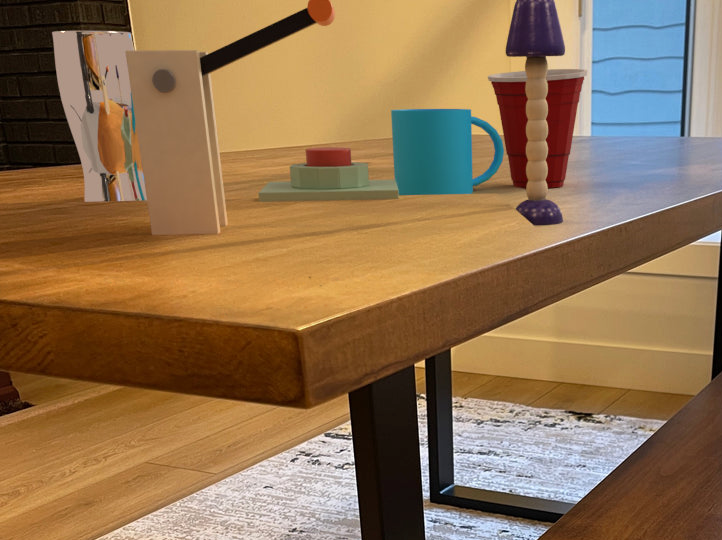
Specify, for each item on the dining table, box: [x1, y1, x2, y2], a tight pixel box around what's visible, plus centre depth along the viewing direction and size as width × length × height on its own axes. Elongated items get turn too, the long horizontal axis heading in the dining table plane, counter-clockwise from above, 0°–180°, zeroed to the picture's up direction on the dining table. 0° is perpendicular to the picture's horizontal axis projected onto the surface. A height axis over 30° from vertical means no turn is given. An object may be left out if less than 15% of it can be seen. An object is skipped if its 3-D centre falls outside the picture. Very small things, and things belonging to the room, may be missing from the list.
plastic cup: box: [487, 68, 588, 189], centre depth 109 cm, size 11×11×12 cm
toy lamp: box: [505, 0, 566, 226], centre depth 80 cm, size 5×5×17 cm
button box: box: [257, 161, 400, 203], centre depth 91 cm, size 12×10×4 cm
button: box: [305, 146, 352, 167], centre depth 90 cm, size 4×4×2 cm
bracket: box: [125, 49, 229, 236], centre depth 68 cm, size 11×9×13 cm
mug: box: [390, 108, 505, 196], centre depth 104 cm, size 12×8×8 cm
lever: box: [200, 0, 336, 77], centre depth 66 cm, size 13×6×2 cm, turn 97°
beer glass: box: [51, 30, 147, 203], centre depth 91 cm, size 7×7×15 cm
